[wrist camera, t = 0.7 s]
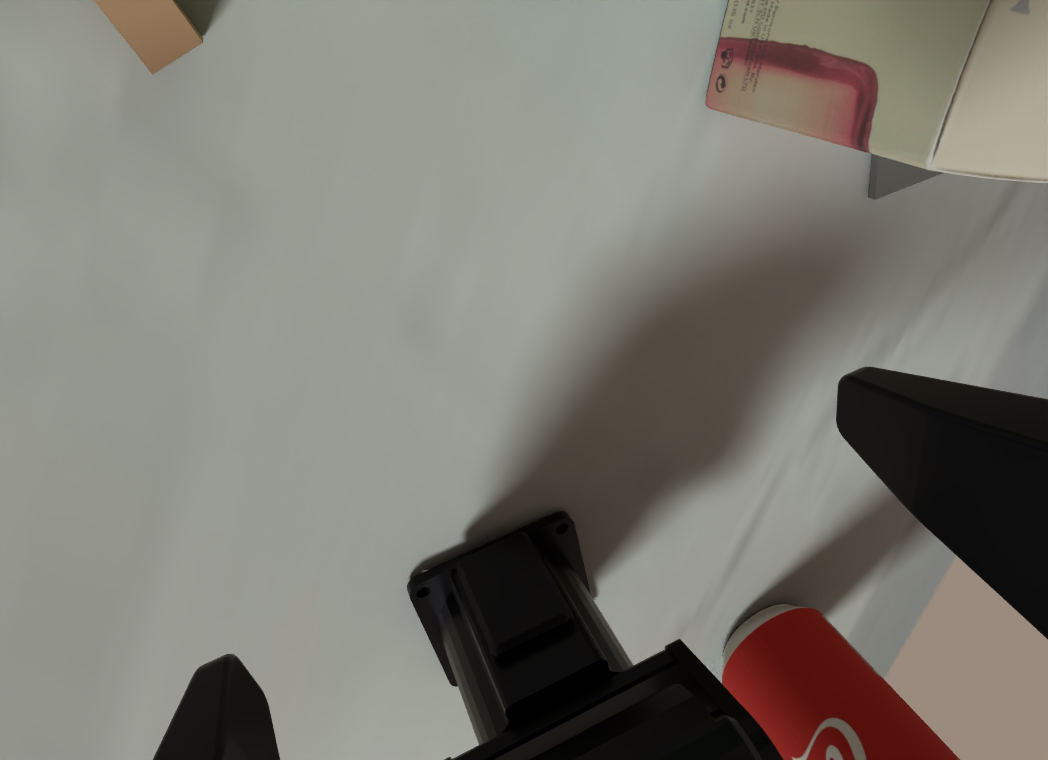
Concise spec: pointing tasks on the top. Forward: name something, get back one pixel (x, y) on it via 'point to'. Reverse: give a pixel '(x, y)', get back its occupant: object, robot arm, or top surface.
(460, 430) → the top surface
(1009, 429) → the robot arm
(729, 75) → the small box
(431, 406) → the top surface
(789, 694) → the beverage can
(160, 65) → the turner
